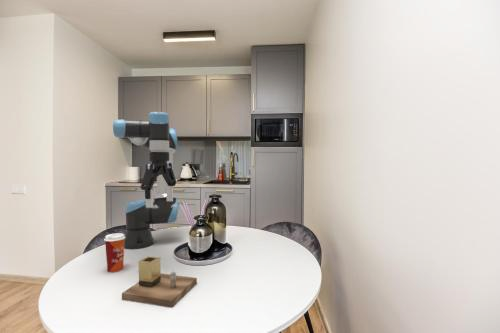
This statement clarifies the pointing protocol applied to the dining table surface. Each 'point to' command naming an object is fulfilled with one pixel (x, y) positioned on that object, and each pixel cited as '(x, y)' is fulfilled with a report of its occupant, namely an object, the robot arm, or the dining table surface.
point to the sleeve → (149, 271)
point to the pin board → (161, 290)
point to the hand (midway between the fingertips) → (160, 204)
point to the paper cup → (114, 251)
